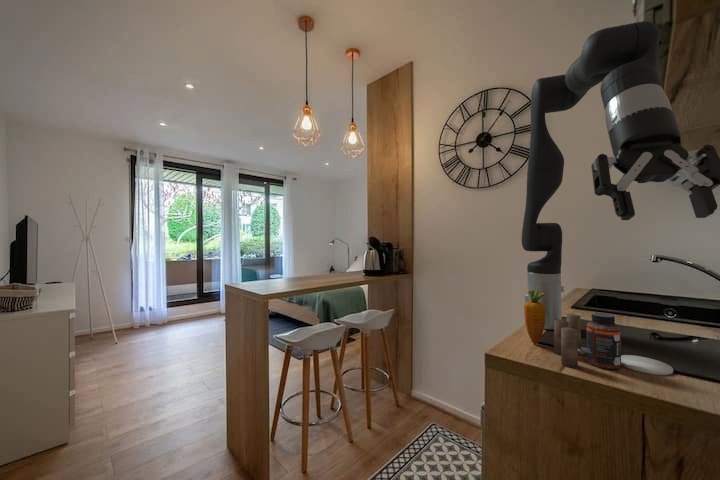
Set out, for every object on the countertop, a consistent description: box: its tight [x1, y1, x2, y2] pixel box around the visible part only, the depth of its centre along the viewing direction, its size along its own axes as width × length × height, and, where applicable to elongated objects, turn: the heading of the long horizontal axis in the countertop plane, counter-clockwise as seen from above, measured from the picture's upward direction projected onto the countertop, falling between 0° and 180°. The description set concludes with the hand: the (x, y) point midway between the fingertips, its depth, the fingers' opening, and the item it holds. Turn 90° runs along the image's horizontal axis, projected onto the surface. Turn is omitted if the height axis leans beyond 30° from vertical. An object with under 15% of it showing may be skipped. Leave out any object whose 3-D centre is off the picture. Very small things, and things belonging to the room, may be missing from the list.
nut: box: [578, 346, 587, 357], centre depth 73 cm, size 4×4×1 cm
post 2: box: [565, 313, 582, 347], centre depth 78 cm, size 3×3×8 cm
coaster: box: [621, 354, 674, 376], centre depth 65 cm, size 9×9×1 cm
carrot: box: [523, 289, 545, 345], centre depth 79 cm, size 5×5×15 cm
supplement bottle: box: [586, 312, 622, 370], centre depth 66 cm, size 6×6×11 cm
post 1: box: [553, 319, 569, 356], centre depth 73 cm, size 3×3×8 cm
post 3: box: [560, 327, 579, 369], centre depth 66 cm, size 3×3×8 cm
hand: (665, 217), depth 41 cm, fingers open, 8 cm apart
